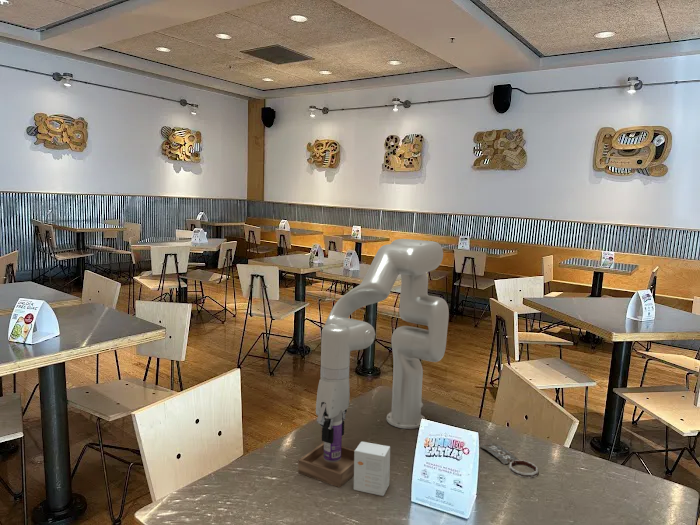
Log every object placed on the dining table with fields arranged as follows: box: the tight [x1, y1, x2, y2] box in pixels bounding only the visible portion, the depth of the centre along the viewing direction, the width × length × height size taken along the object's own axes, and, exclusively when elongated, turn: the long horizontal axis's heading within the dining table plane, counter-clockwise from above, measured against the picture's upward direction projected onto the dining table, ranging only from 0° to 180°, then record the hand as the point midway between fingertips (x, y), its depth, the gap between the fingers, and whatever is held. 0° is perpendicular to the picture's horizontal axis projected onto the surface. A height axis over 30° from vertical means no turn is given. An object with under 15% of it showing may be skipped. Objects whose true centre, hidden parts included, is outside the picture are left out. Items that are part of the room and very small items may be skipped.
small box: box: [353, 441, 391, 497], centre depth 130 cm, size 8×6×10 cm
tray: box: [297, 441, 355, 488], centre depth 139 cm, size 13×13×4 cm
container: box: [323, 410, 343, 462], centre depth 138 cm, size 5×5×15 cm
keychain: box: [479, 442, 539, 479], centre depth 147 cm, size 8×19×2 cm, turn 24°
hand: (333, 437), depth 138 cm, fingers closed on container, 4 cm apart
